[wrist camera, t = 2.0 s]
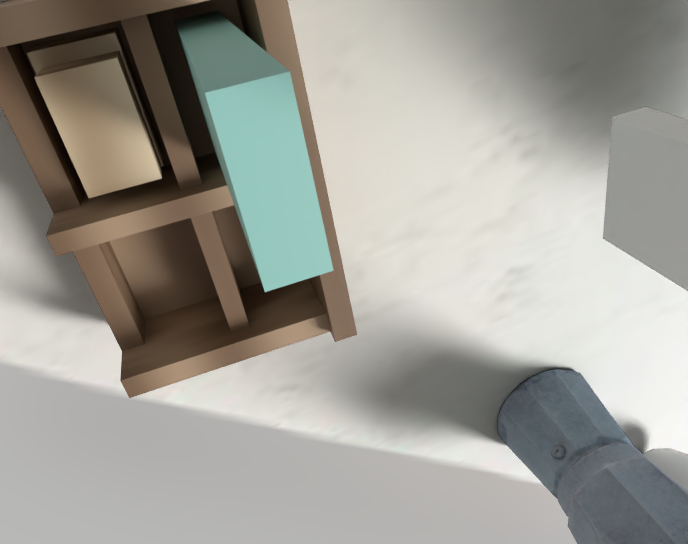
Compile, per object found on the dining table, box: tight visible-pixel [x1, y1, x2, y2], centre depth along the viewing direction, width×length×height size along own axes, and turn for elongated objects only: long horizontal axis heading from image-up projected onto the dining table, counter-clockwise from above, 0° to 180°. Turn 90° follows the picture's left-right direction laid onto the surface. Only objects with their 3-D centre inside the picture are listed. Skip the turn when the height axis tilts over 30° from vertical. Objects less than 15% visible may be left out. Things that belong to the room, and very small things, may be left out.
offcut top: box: [34, 51, 162, 198], centre depth 25 cm, size 3×5×2 cm, turn 11°
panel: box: [174, 11, 334, 292], centre depth 21 cm, size 2×6×16 cm, turn 11°
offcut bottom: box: [27, 27, 164, 166], centre depth 26 cm, size 4×6×2 cm, turn 10°
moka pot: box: [498, 369, 688, 544], centre depth 41 cm, size 10×15×20 cm, turn 74°
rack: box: [0, 0, 357, 398], centre depth 28 cm, size 12×18×8 cm, turn 11°
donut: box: [643, 448, 688, 491], centre depth 54 cm, size 10×4×10 cm, turn 167°
